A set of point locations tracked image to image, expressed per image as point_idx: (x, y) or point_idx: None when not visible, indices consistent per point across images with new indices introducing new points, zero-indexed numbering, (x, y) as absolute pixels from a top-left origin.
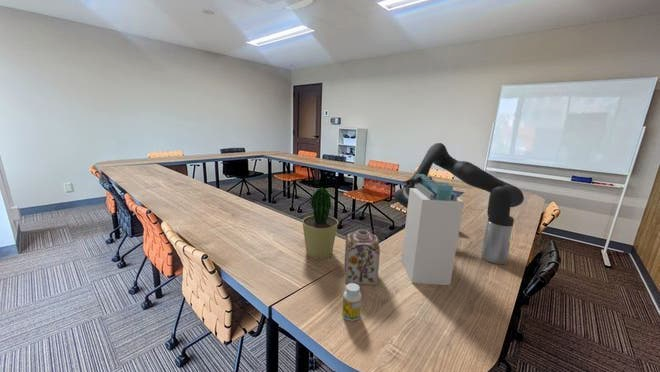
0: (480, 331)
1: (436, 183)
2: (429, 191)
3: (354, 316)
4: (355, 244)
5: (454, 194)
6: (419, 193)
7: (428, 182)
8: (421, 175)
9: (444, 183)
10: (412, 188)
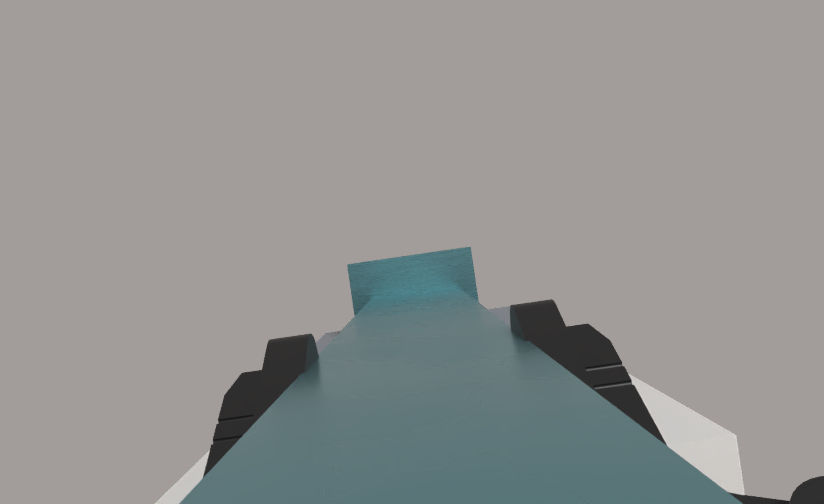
0: None
1: (451, 249)
2: (504, 316)
3: None
4: None
5: (334, 334)
6: None
7: (468, 297)
8: (425, 413)
9: (382, 259)
10: (686, 433)
